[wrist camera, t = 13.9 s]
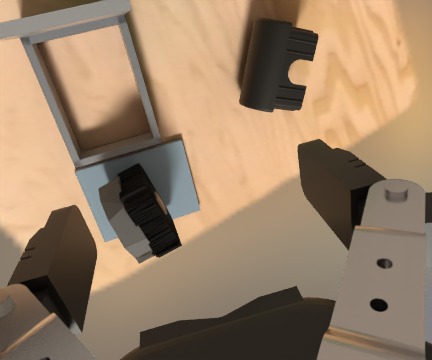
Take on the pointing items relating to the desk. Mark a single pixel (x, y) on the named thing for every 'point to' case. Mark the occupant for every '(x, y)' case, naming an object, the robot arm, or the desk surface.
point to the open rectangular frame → (31, 35)
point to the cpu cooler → (138, 214)
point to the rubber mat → (157, 173)
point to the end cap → (275, 65)
